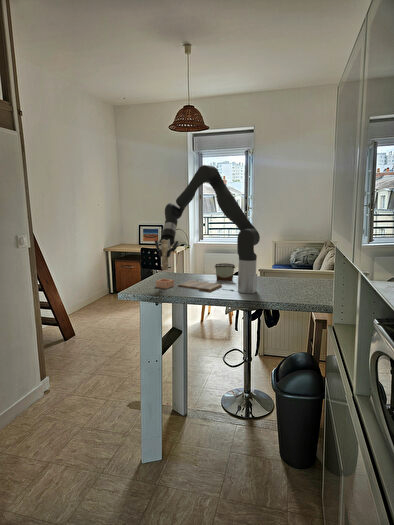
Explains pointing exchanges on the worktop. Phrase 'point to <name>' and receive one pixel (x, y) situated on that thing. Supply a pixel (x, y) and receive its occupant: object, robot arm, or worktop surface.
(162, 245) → the birch dowel
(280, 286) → the worktop surface
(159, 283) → the terracotta cup
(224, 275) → the food container
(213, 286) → the walnut board
